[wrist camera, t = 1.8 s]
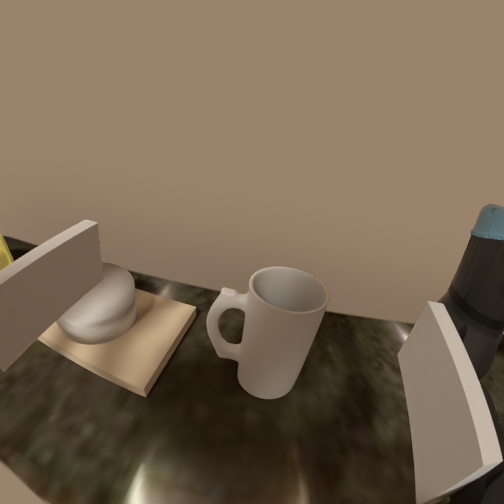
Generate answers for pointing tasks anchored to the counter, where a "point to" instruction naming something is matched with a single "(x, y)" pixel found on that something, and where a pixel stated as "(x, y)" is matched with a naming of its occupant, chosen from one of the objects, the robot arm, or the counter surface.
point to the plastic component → (4, 254)
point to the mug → (271, 328)
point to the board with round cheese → (121, 331)
